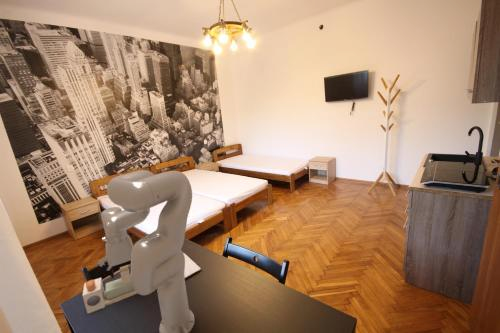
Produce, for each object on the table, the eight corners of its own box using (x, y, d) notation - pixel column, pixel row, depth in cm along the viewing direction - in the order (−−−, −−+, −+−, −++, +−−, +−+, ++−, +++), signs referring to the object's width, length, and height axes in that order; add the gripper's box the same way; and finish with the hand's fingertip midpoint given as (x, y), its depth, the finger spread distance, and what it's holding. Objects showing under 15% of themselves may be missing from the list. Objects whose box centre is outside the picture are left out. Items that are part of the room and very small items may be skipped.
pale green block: (150, 288, 104) (148, 277, 103) (104, 306, 96) (101, 294, 94) (148, 278, 110) (146, 268, 109) (105, 295, 102) (102, 283, 100)
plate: (149, 272, 115) (149, 268, 115) (184, 255, 127) (183, 252, 127) (164, 292, 102) (164, 289, 101) (201, 271, 114) (201, 268, 113)
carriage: (133, 291, 101) (129, 270, 98) (107, 301, 96) (102, 280, 94) (132, 282, 106) (128, 263, 104) (107, 291, 101) (102, 271, 99)
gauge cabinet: (104, 307, 95) (100, 289, 93) (87, 314, 92) (82, 295, 90) (105, 294, 102) (101, 277, 100) (89, 300, 99) (84, 282, 97)
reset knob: (95, 289, 93) (94, 283, 92) (86, 292, 91) (85, 286, 90) (96, 284, 95) (94, 278, 94) (87, 287, 94) (85, 281, 93)
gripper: (91, 248, 89) (101, 285, 93) (140, 233, 97) (147, 268, 101) (93, 239, 95) (102, 274, 99) (138, 226, 103) (145, 260, 107)
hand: (125, 271), depth 100 cm, fingers open, 9 cm apart
